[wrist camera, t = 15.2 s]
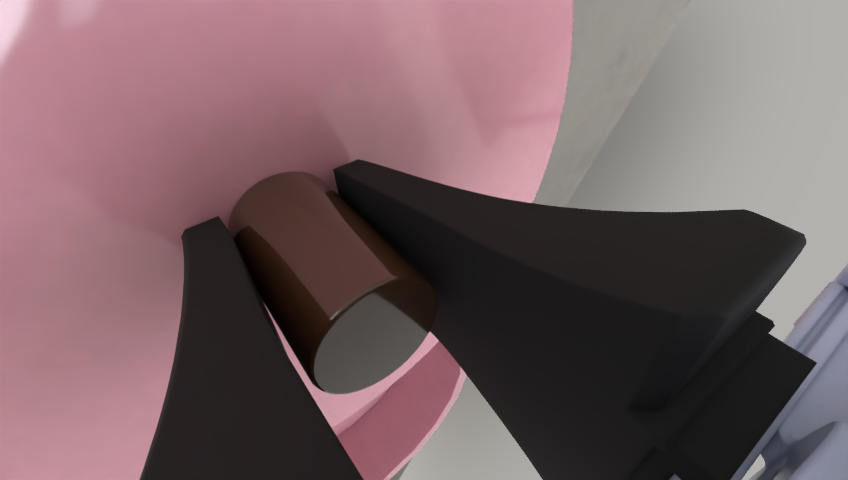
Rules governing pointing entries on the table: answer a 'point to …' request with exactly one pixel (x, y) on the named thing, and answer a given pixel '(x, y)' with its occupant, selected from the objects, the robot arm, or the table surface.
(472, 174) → the lid
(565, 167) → the table surface
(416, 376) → the pot
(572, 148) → the table surface
